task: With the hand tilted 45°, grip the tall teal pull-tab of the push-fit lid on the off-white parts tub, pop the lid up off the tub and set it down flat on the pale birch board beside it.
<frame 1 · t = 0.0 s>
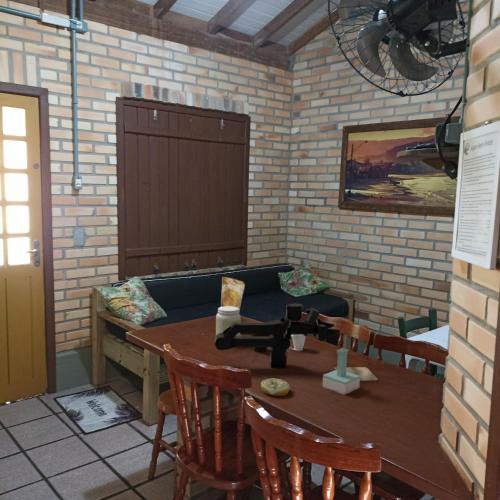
hand: (336, 328, 209), 17 cm above the table, tool horizontal, fingers open, 9 cm apart
pancake mix bag: (229, 329, 263), on the table
cup: (295, 349, 231), on the table
coffee mug: (263, 351, 228), on the table
decorated donut: (275, 392, 180), on the table
tub: (340, 387, 185), on the table
supplement tub: (227, 341, 241), on the table
board: (355, 374, 200), on the table
lid: (341, 380, 185), point 3 cm above the table, touching tub
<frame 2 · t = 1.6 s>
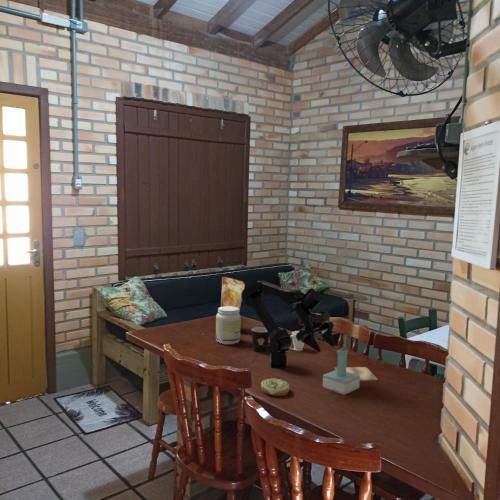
hand: (326, 348, 189), 14 cm above the table, tool tilted 45°, fingers open, 9 cm apart
nothing on the table moved.
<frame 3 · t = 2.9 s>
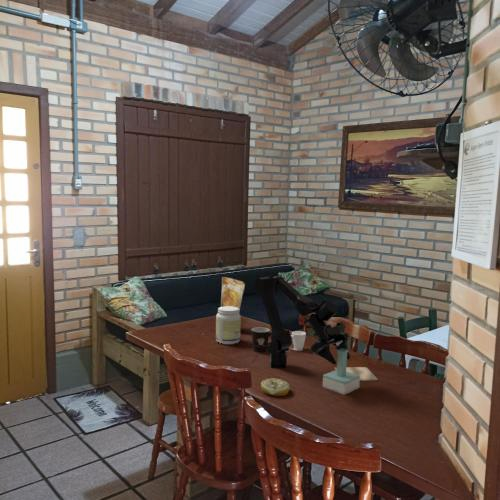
hand: (342, 361, 184), 10 cm above the table, tool tilted 45°, fingers open, 9 cm apart
nothing on the table moved.
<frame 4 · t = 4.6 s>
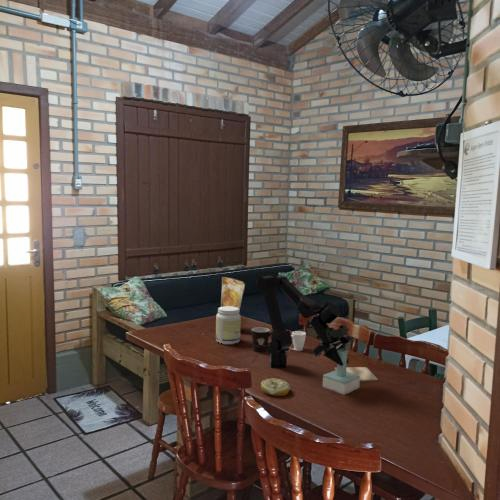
hand: (345, 364, 184), 10 cm above the table, tool tilted 45°, fingers closed on lid, 3 cm apart
lid: (341, 380, 185), point 3 cm above the table, touching gripper, tub
everything else where it was.
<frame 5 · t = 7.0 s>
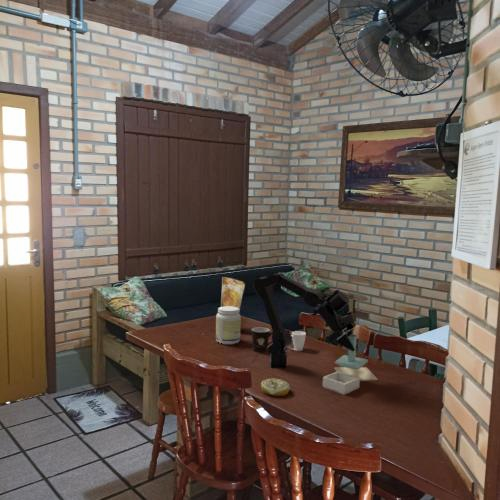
hand: (355, 349, 190), 13 cm above the table, tool tilted 45°, fingers closed on lid, 3 cm apart
lid: (351, 365, 191), point 7 cm above the table, touching gripper
everything else where it was.
when the fingers open (9 cm above the table, at t = 9.6 s): lid drops 1 cm, resting on board.
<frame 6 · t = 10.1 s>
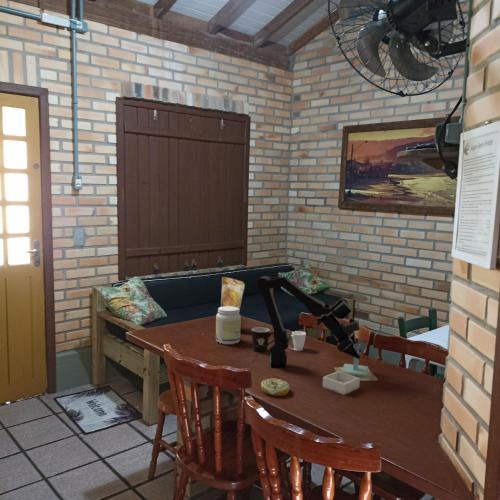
hand: (359, 354, 199), 9 cm above the table, tool tilted 45°, fingers open, 8 cm apart
lid: (355, 373, 200), point 1 cm above the table, touching board
everything else where it was.
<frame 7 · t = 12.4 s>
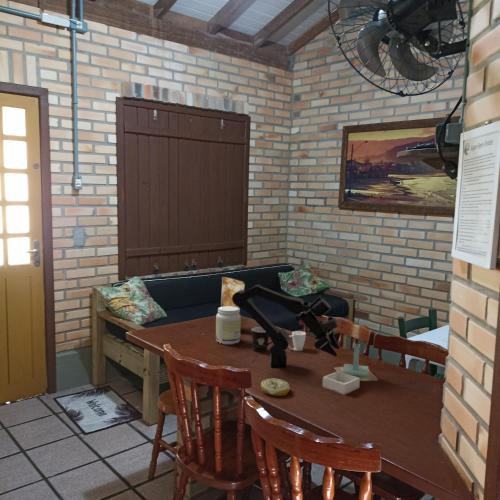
hand: (337, 352, 201), 9 cm above the table, tool tilted 45°, fingers open, 9 cm apart
nothing on the table moved.
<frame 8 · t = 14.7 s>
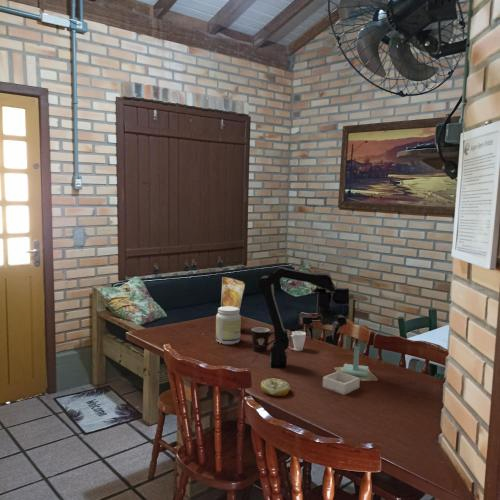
hand: (322, 339, 204), 13 cm above the table, tool pointing down, fingers open, 9 cm apart
nothing on the table moved.
at the end: lid inside the target area on the board (0.0 cm from its centre), point 0.6 cm above the board's base; lid touching board; lid tilted 0° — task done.
